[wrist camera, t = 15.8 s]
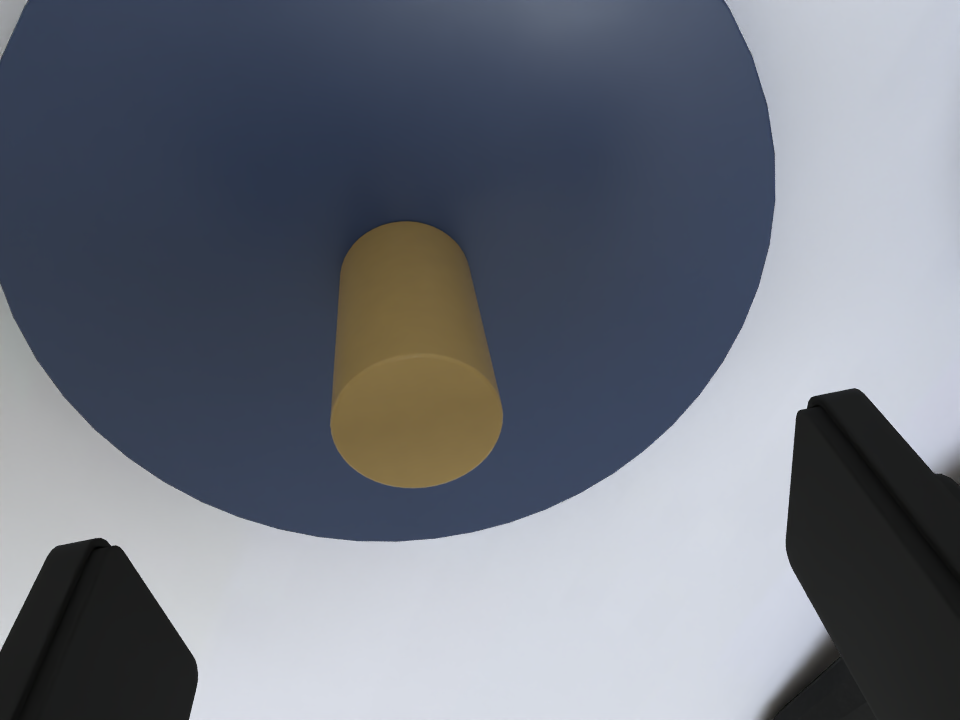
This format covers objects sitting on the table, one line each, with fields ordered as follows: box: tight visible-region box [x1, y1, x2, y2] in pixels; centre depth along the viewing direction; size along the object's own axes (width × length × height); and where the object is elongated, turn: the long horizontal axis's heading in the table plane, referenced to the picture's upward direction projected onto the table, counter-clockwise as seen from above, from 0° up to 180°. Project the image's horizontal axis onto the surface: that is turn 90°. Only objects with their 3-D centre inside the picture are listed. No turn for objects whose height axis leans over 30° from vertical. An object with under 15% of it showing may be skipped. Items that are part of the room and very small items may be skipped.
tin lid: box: [0, 0, 775, 542], centre depth 15 cm, size 16×16×6 cm
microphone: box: [773, 657, 877, 720], centre depth 26 cm, size 6×6×20 cm
